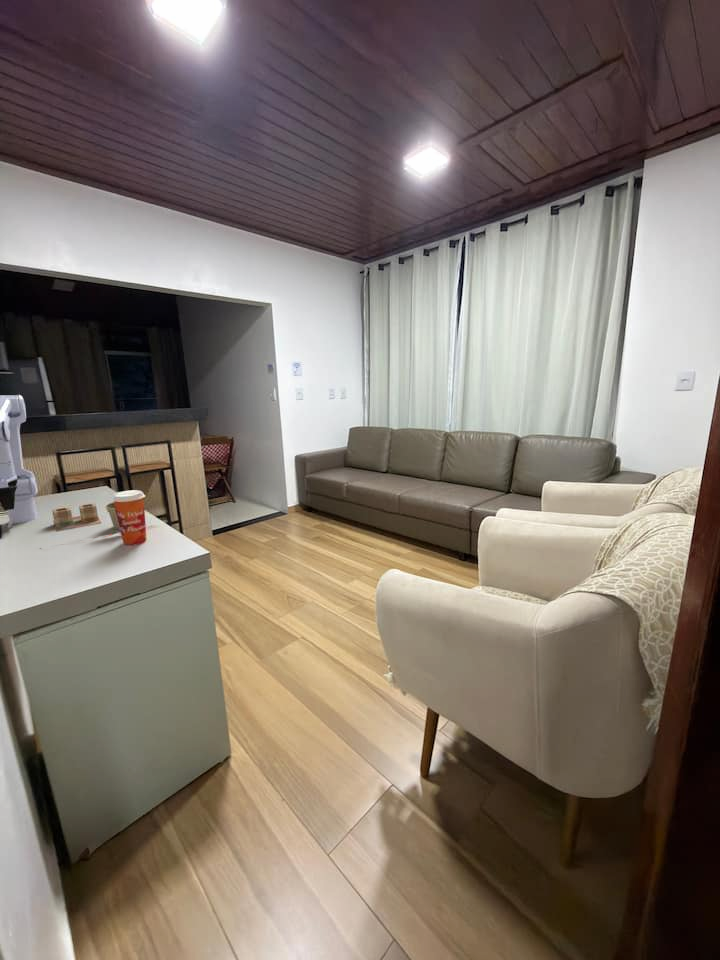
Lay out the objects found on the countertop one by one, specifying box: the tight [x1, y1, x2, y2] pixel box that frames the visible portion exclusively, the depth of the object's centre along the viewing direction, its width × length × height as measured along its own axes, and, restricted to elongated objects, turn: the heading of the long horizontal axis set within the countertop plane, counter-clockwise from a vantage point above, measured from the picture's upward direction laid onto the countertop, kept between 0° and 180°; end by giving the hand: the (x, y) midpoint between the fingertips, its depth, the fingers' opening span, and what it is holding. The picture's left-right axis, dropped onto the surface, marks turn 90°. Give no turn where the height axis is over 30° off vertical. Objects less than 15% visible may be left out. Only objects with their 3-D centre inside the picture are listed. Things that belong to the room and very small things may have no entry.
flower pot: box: [104, 501, 121, 533], centre depth 122 cm, size 9×9×9 cm
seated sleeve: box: [78, 502, 99, 522], centre depth 128 cm, size 4×4×5 cm
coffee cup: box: [111, 489, 147, 546], centre depth 111 cm, size 8×8×15 cm
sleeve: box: [51, 506, 73, 527], centre depth 123 cm, size 4×4×5 cm
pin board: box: [53, 515, 102, 533], centre depth 126 cm, size 14×12×5 cm
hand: (9, 506), depth 113 cm, fingers open, 7 cm apart
